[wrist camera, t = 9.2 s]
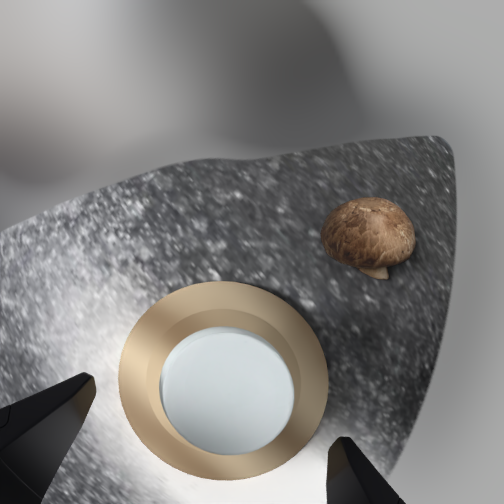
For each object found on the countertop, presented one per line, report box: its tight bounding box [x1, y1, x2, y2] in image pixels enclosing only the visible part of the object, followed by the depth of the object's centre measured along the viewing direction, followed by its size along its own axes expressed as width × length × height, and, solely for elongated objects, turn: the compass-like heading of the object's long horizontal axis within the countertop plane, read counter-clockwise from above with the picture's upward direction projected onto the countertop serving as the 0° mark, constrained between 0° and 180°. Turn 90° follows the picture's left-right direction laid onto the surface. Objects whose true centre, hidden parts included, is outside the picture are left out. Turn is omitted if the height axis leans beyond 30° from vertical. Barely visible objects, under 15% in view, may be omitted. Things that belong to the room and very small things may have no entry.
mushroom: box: [321, 197, 416, 280], centre depth 21 cm, size 8×8×6 cm
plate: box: [118, 281, 329, 480], centre depth 16 cm, size 14×14×1 cm
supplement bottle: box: [159, 326, 294, 455], centre depth 11 cm, size 5×5×10 cm
